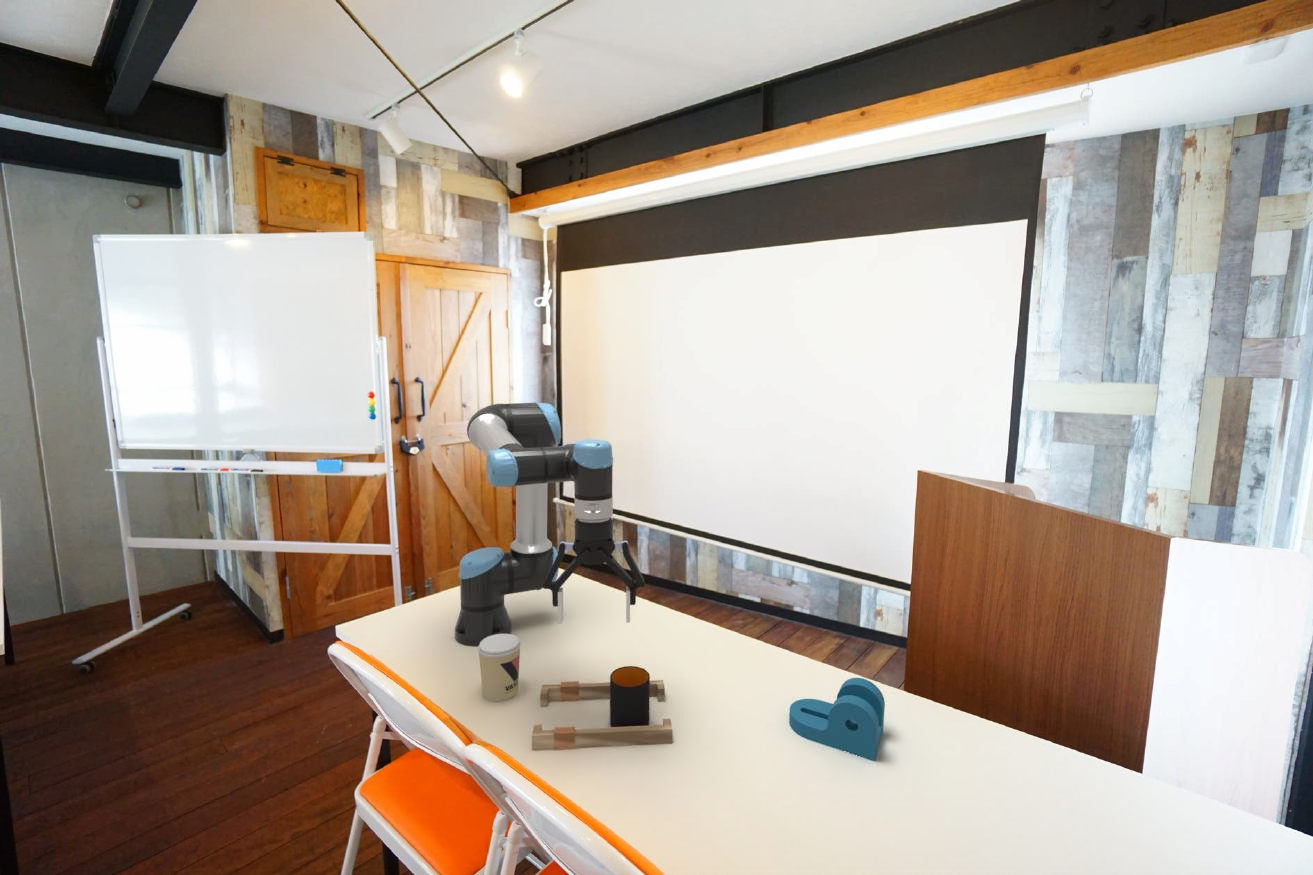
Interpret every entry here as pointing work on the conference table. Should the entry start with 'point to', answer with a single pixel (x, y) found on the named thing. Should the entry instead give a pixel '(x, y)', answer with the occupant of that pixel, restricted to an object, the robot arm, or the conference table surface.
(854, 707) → the camera mount
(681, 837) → the conference table surface
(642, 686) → the mug
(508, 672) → the coffee cup
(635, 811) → the conference table surface
